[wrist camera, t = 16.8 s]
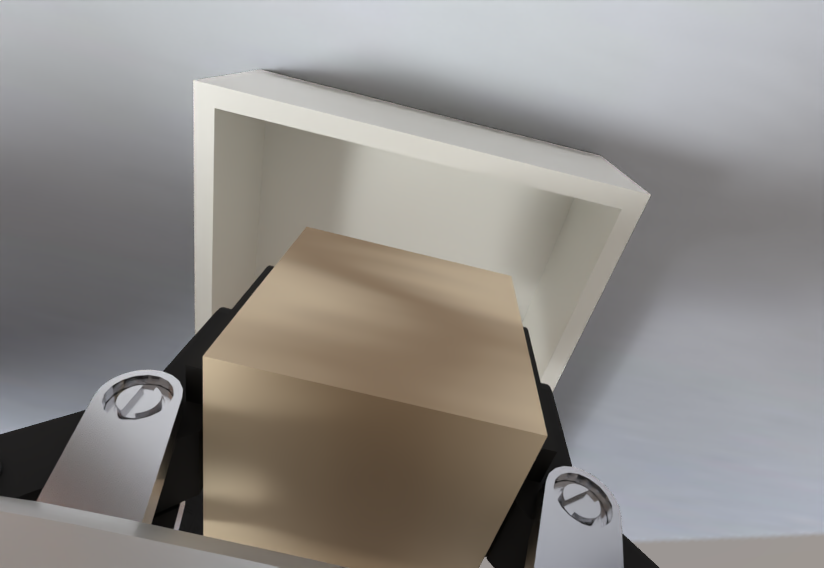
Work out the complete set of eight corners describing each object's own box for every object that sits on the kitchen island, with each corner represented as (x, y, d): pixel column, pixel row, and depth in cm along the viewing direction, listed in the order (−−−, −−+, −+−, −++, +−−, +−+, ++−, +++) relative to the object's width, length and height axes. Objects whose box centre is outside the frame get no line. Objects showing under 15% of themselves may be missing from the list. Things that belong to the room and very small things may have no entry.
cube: (288, 384, 13) (203, 557, 9) (306, 226, 11) (202, 355, 6) (455, 423, 13) (455, 612, 9) (511, 276, 11) (547, 435, 7)
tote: (240, 405, 25) (195, 483, 21) (260, 69, 17) (193, 79, 12) (472, 457, 26) (477, 543, 21) (600, 155, 17) (651, 195, 13)
